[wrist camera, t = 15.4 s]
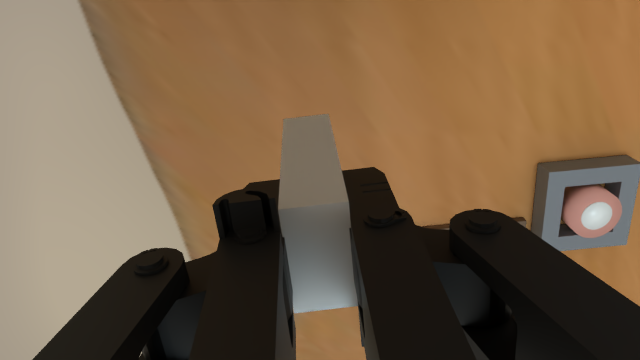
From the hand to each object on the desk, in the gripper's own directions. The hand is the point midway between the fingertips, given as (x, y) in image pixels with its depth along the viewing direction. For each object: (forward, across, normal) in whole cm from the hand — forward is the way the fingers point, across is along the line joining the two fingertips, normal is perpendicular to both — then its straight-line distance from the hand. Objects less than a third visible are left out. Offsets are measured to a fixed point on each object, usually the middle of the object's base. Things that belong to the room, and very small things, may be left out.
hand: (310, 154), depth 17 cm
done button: (+29, +27, -19) cm, 44 cm away
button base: (+29, +26, -20) cm, 44 cm away
